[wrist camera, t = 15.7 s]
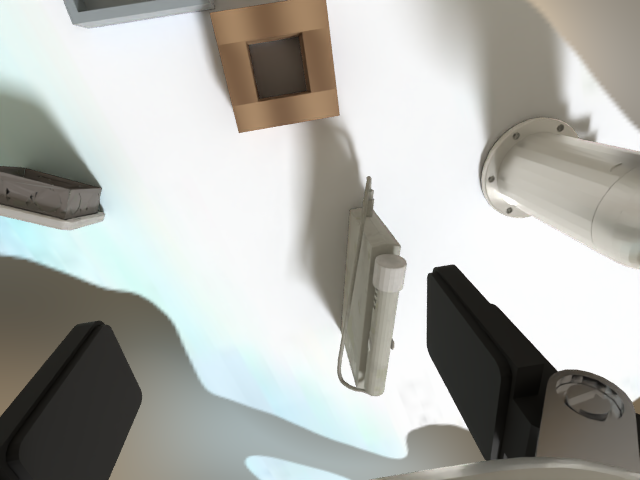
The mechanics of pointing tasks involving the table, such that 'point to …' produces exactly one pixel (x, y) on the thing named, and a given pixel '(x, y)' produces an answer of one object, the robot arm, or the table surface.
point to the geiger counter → (369, 297)
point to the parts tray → (128, 10)
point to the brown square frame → (270, 25)
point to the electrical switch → (48, 199)
